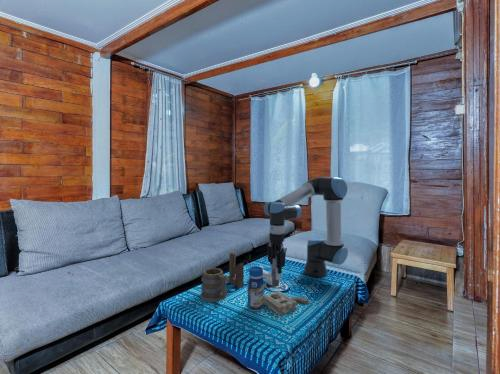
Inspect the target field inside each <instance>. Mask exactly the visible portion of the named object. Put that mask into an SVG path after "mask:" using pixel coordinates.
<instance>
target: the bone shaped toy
mask: <svg viewBox="0 0 500 374" xmlns="http://www.w3.org/2000/svg"><path fill="white" fill-rule="evenodd" d="M258 267H261V268H262V269H263V275H262V278H263V280H264V281H266V282H267V285H268V284H269V285H268V286H270V285H271V286H272V277H271V271H270V272H269V271H267V270H265V269H264V266H263V265H258Z"/></svg>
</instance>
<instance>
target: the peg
mask: <svg viewBox="0 0 500 374" xmlns="http://www.w3.org/2000/svg"><path fill="white" fill-rule="evenodd" d="M276 266H277V257H274V258H273V264H272V285H271V286H273V287H279V286H280V279H279V280H276Z"/></svg>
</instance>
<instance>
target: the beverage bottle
mask: <svg viewBox="0 0 500 374" xmlns="http://www.w3.org/2000/svg"><path fill="white" fill-rule="evenodd" d="M248 269H249V271H248V274H249V275H248V276H249V277H248V278H247V279H248V280H247V304H246V305H247V309H248V310H249V311H250V312H251V311H252V312H261V311H263V309H264V307H265V304H264V295H265V285H264V284H265V279H263V278H262V275H263V269H264V268H263V269H262V268H261V267H259V266H250V267H249V268H248Z"/></svg>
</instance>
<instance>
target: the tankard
mask: <svg viewBox="0 0 500 374" xmlns="http://www.w3.org/2000/svg"><path fill="white" fill-rule="evenodd" d="M228 276H229V275H225V274H224V271H223V270H222V269H221V268H217V267H210V268H205V269H204V270H203V272H202V276H201V282H202V285H201V292H200V295H199V298H200V299H201V300H203V301H204V302H205V303H207V302H209V303H216V302H219V301H222V300H225V299H226V297H227V294H228V289H227V286H226V285H227V284H226V282H228V281H229V280H230V279H229V278H228ZM228 283H229V282H228Z"/></svg>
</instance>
